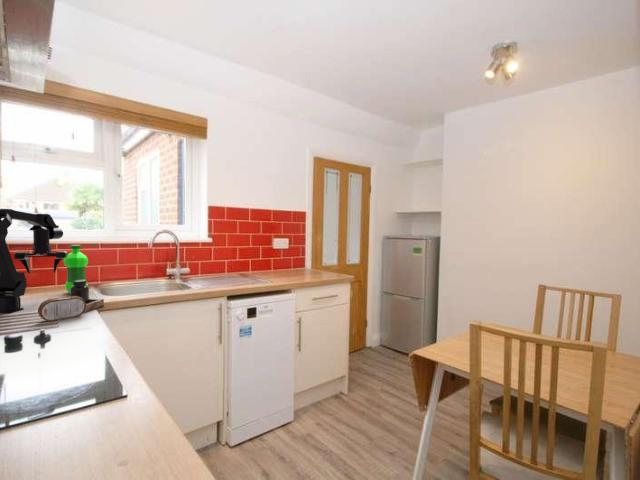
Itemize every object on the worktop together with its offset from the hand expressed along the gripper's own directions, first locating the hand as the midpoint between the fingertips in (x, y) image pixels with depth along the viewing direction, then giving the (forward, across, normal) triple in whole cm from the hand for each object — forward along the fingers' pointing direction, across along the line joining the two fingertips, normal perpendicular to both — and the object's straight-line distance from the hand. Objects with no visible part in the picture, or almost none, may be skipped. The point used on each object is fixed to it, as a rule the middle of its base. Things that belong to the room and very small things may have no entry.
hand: (42, 273), depth 156 cm
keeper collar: (+13, -17, +24) cm, 32 cm away
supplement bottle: (+13, -17, +23) cm, 31 cm away
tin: (+13, -13, +38) cm, 42 cm away
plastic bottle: (+13, -11, -14) cm, 22 cm away
